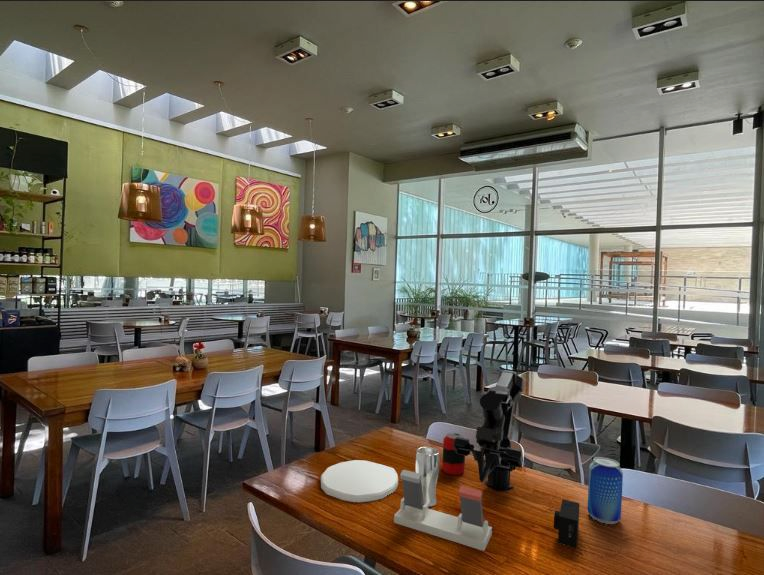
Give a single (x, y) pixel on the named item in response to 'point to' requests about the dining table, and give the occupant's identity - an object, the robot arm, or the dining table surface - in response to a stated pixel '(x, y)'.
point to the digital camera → (567, 523)
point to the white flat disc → (359, 481)
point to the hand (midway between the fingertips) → (481, 481)
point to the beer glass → (428, 472)
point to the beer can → (605, 490)
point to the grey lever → (412, 489)
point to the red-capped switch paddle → (471, 506)
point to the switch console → (444, 526)
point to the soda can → (452, 456)
